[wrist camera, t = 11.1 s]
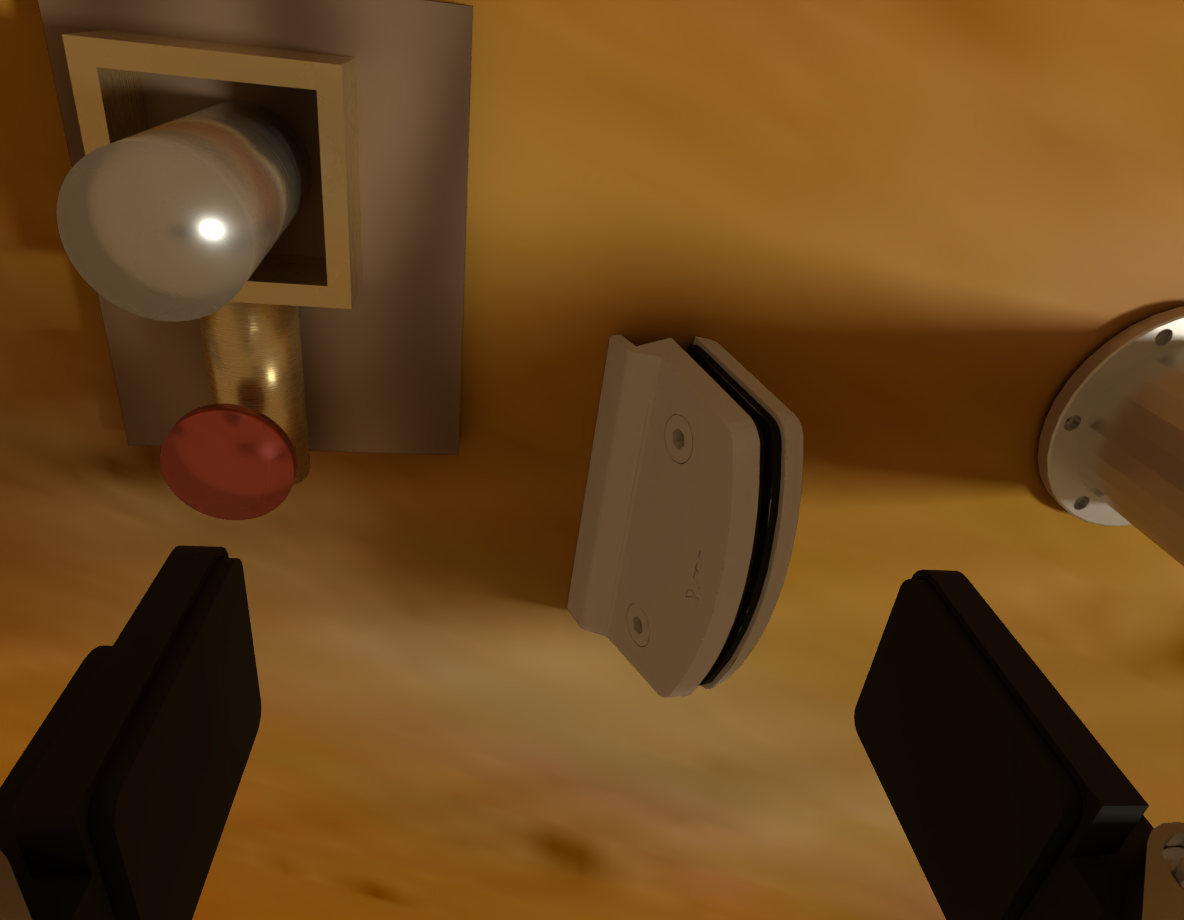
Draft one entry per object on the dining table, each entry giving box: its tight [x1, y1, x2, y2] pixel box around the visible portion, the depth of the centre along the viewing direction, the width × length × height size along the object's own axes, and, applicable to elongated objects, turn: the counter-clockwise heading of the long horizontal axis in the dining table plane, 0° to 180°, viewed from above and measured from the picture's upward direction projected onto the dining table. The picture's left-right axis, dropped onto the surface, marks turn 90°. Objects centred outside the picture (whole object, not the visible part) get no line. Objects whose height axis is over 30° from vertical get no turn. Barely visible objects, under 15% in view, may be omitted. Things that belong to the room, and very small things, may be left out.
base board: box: [38, 0, 473, 455], centre depth 31 cm, size 14×18×1 cm
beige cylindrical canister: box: [56, 101, 312, 322], centre depth 24 cm, size 4×4×11 cm
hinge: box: [567, 335, 804, 697], centre depth 37 cm, size 17×5×10 cm, turn 172°
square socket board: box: [62, 30, 363, 520], centre depth 28 cm, size 8×16×7 cm, turn 174°
